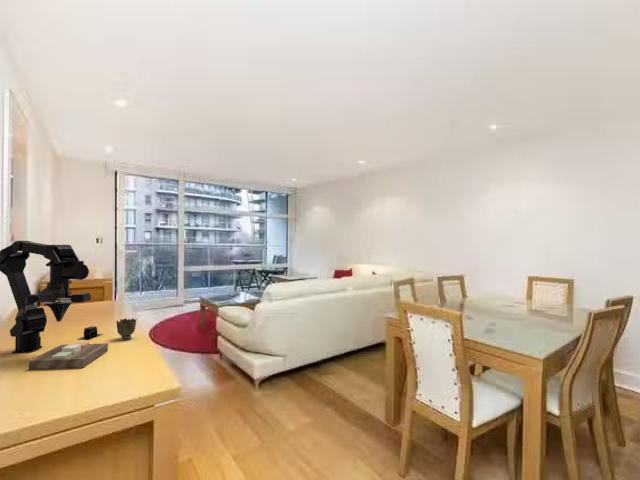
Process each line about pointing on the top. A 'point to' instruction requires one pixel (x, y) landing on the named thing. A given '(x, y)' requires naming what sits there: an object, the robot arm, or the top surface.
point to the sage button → (61, 355)
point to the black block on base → (90, 333)
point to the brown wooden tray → (73, 361)
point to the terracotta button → (84, 344)
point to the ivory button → (72, 348)
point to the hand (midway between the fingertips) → (59, 321)
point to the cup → (126, 328)
